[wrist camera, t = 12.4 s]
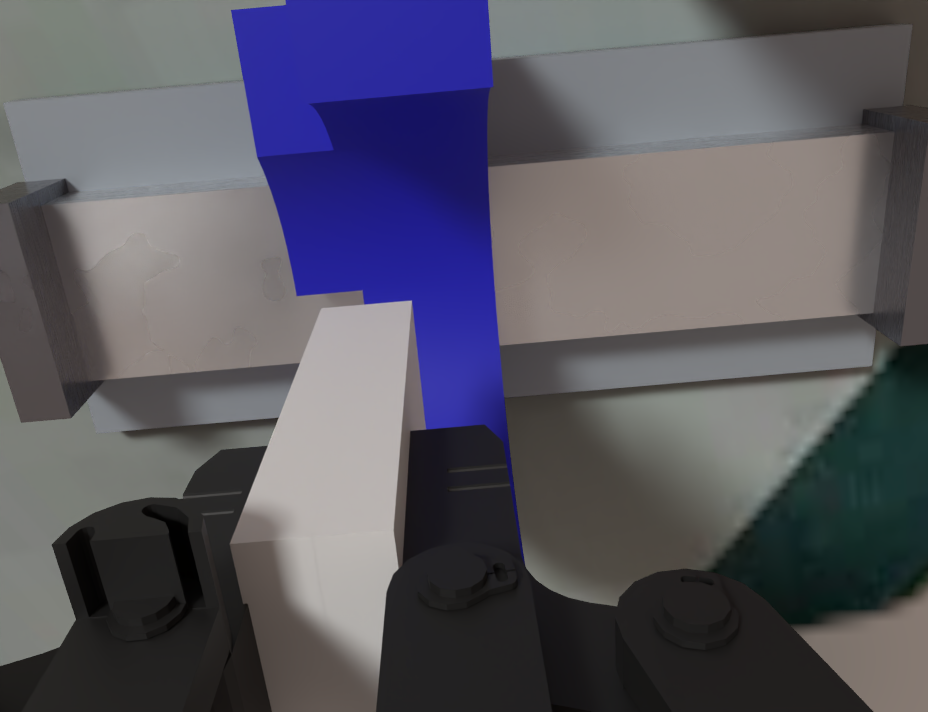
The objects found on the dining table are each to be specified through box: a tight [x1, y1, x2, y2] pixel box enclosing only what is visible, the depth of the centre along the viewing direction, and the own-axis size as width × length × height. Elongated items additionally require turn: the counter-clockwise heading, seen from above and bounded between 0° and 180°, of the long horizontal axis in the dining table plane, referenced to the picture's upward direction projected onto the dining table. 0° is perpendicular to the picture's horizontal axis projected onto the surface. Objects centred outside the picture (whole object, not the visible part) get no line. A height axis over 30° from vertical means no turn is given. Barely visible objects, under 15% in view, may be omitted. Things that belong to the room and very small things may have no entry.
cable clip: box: [231, 0, 525, 564], centre depth 17 cm, size 12×4×6 cm, turn 5°
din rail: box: [0, 105, 928, 422], centre depth 20 cm, size 22×5×3 cm, turn 95°
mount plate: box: [3, 24, 913, 433], centre depth 22 cm, size 22×9×1 cm, turn 95°
